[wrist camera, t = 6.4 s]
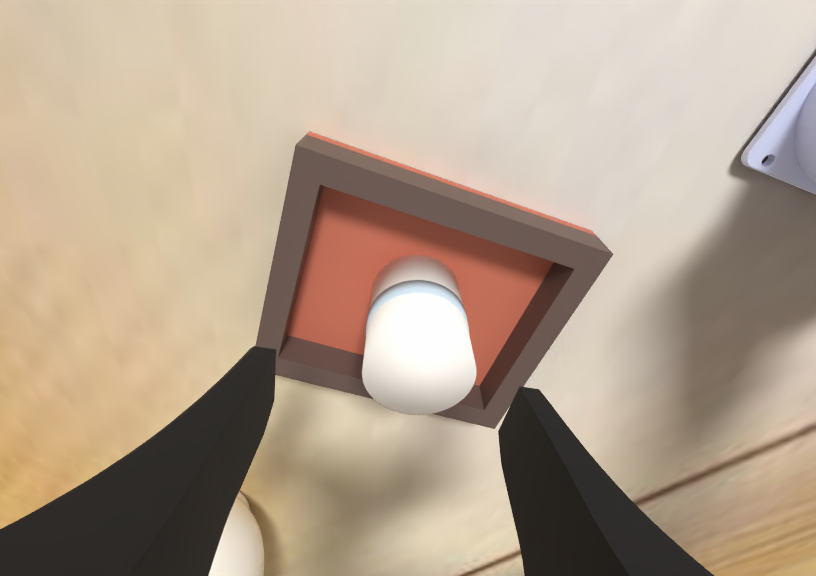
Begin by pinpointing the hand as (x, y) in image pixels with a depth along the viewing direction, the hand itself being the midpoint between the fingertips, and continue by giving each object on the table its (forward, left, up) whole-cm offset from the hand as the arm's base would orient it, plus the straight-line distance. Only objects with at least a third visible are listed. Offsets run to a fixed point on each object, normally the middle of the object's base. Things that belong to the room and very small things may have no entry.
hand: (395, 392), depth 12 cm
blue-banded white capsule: (-1, +2, -9) cm, 10 cm away
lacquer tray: (-1, +2, -10) cm, 10 cm away
